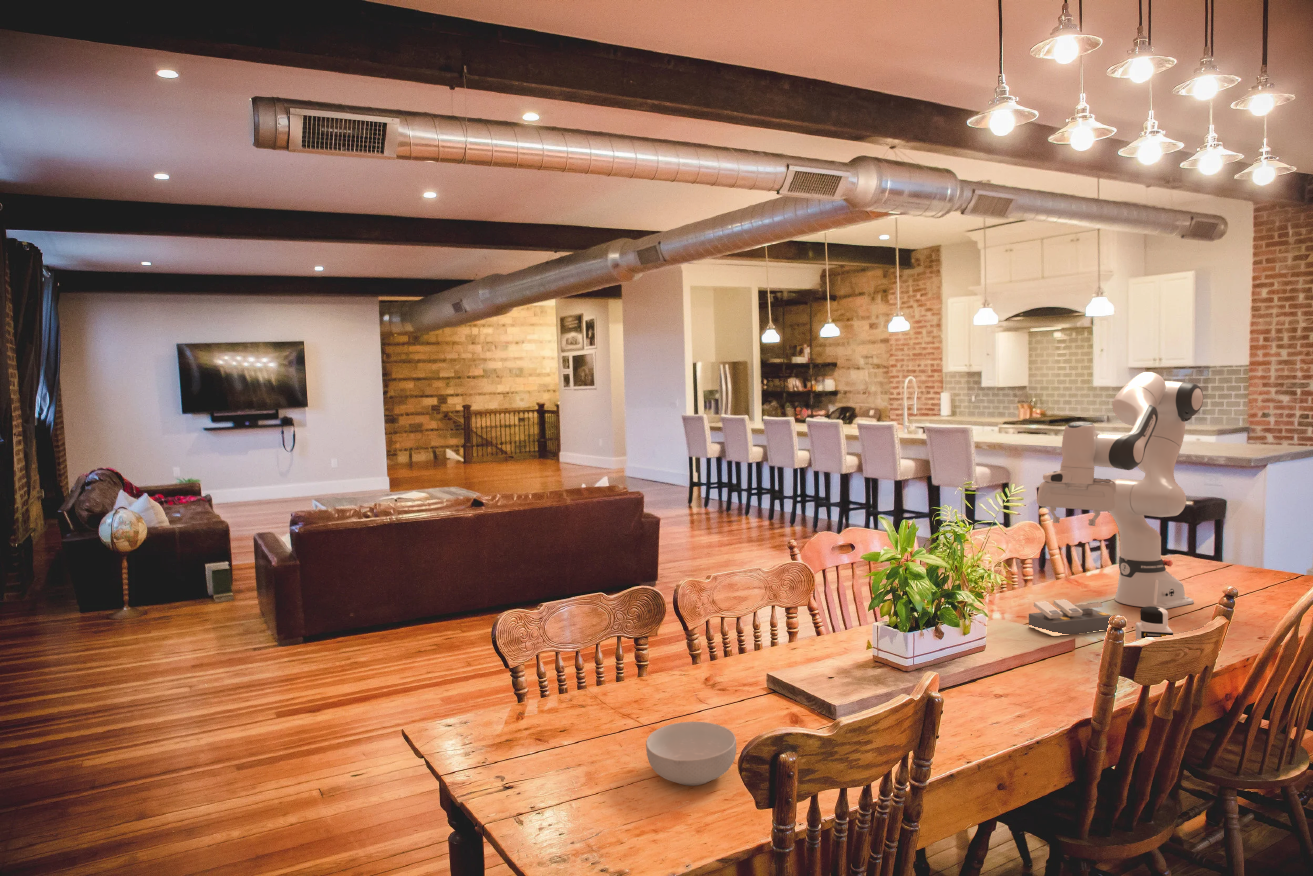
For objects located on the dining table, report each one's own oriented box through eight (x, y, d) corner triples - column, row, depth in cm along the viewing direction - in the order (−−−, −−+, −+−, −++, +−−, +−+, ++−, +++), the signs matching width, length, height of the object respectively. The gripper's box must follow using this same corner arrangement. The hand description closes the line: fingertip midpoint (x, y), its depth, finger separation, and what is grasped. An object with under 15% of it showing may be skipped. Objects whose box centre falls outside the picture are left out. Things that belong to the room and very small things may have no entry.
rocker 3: (1084, 607, 238) (1084, 602, 238) (1102, 606, 231) (1101, 602, 231) (1073, 608, 237) (1072, 604, 237) (1090, 608, 230) (1089, 603, 230)
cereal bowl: (680, 748, 163) (679, 714, 162) (753, 769, 153) (752, 732, 153) (628, 783, 149) (627, 745, 149) (705, 807, 139) (704, 767, 139)
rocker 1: (1045, 604, 235) (1046, 600, 234) (1062, 617, 228) (1063, 613, 228) (1033, 606, 234) (1034, 601, 234) (1049, 618, 227) (1050, 614, 227)
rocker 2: (1064, 602, 236) (1065, 598, 236) (1081, 615, 230) (1082, 611, 229) (1053, 604, 235) (1053, 599, 235) (1069, 616, 229) (1070, 612, 228)
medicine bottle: (1141, 657, 207) (1141, 610, 207) (1135, 648, 214) (1135, 603, 213) (1173, 659, 205) (1173, 612, 204) (1166, 650, 212) (1166, 605, 211)
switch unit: (1087, 620, 240) (1087, 603, 240) (1113, 630, 230) (1113, 612, 230) (1028, 627, 236) (1028, 609, 235) (1052, 637, 226) (1052, 618, 226)
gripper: (1113, 478, 237) (1110, 525, 238) (1037, 474, 243) (1034, 520, 243) (1119, 480, 231) (1116, 528, 232) (1041, 475, 237) (1038, 522, 237)
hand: (1073, 524), depth 238 cm, fingers open, 8 cm apart
